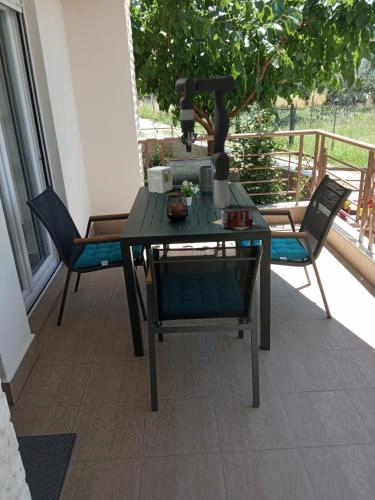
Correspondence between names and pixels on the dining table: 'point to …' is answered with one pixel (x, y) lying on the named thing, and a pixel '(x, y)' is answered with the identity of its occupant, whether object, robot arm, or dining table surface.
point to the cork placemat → (231, 227)
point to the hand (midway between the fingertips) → (188, 152)
